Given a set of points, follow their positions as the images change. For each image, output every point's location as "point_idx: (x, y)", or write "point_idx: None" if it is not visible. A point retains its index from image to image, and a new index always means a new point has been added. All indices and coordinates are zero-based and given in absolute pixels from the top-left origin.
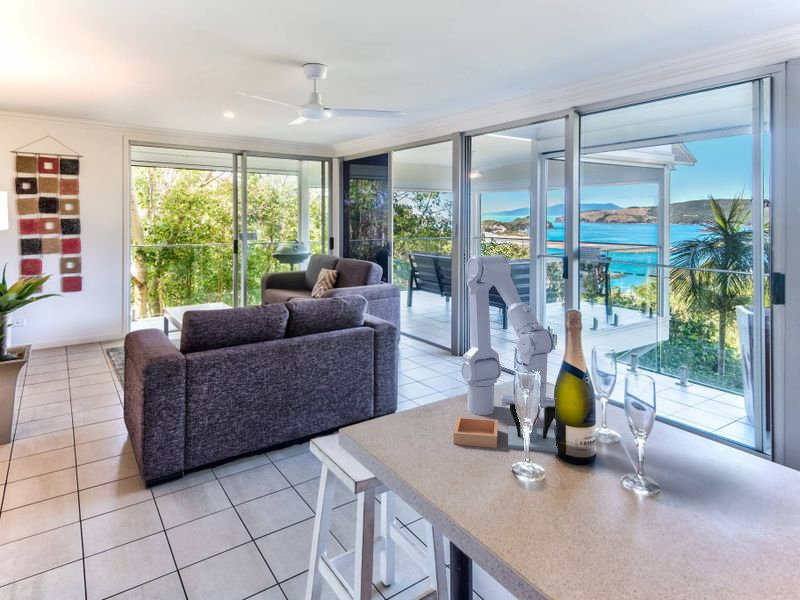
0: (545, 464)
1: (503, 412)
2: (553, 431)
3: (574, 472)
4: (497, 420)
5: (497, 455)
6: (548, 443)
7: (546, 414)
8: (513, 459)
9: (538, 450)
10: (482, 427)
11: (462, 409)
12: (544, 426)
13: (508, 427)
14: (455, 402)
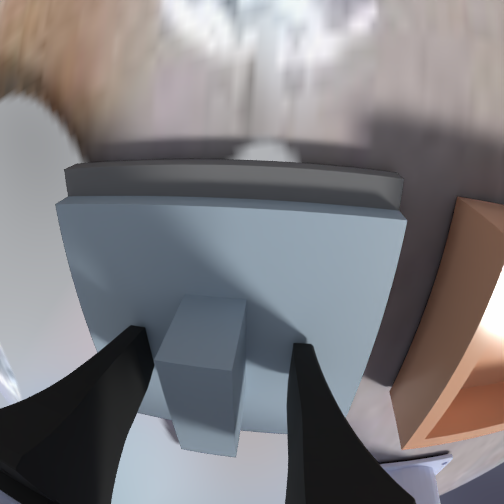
0: (146, 60)
1: None
2: None
3: (25, 36)
4: (407, 446)
5: (457, 146)
6: (111, 273)
7: (18, 452)
8: (363, 91)
9: (175, 197)
10: (465, 399)
11: None
12: (110, 390)
13: None
14: None
